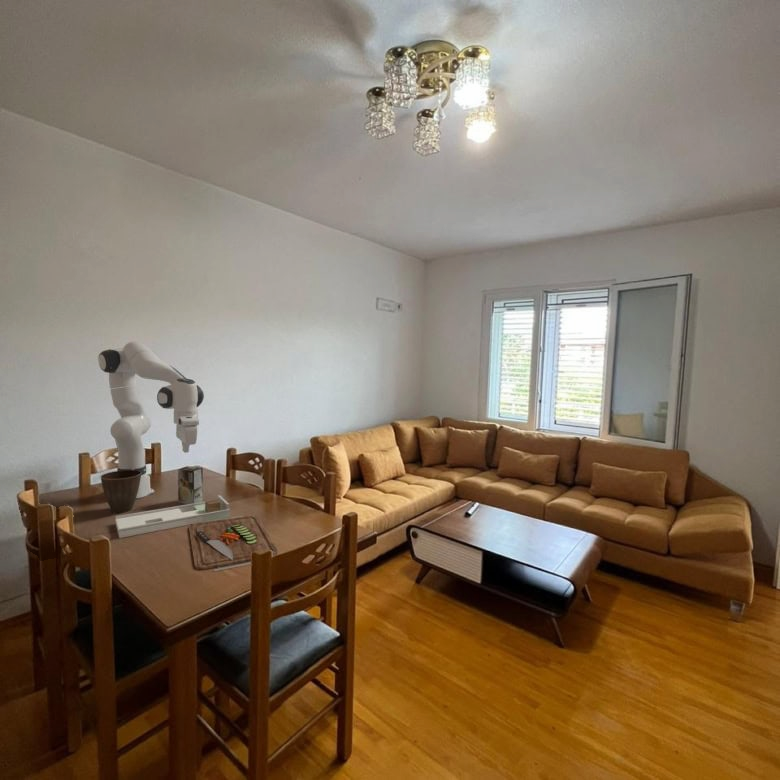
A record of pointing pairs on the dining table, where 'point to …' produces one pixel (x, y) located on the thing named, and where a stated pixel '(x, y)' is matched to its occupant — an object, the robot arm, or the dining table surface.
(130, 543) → the dining table surface
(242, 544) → the chopping board
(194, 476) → the coffee box
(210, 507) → the block
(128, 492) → the plant pot
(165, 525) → the tray
